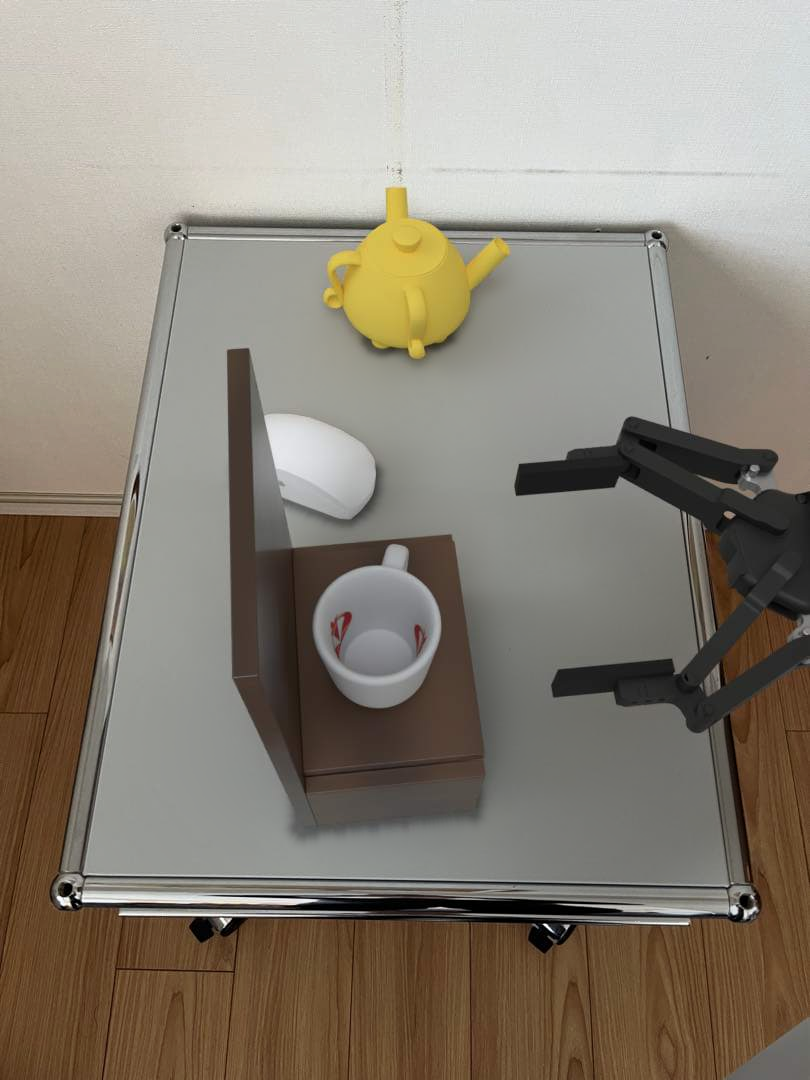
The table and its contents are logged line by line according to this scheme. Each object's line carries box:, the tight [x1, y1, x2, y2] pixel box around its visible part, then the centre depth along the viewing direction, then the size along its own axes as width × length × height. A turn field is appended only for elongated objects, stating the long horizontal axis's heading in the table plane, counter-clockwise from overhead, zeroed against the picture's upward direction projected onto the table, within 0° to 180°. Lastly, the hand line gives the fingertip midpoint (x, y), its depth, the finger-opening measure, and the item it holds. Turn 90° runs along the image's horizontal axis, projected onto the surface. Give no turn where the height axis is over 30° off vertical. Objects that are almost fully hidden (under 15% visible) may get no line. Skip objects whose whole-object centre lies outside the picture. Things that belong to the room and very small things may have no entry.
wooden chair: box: [226, 347, 486, 829], centre depth 61 cm, size 13×18×34 cm
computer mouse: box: [264, 413, 377, 520], centre depth 83 cm, size 6×13×6 cm, turn 67°
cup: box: [312, 544, 441, 708], centre depth 62 cm, size 11×8×8 cm
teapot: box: [322, 186, 511, 360], centre depth 90 cm, size 14×14×11 cm
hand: (534, 576), depth 56 cm, fingers open, 13 cm apart
